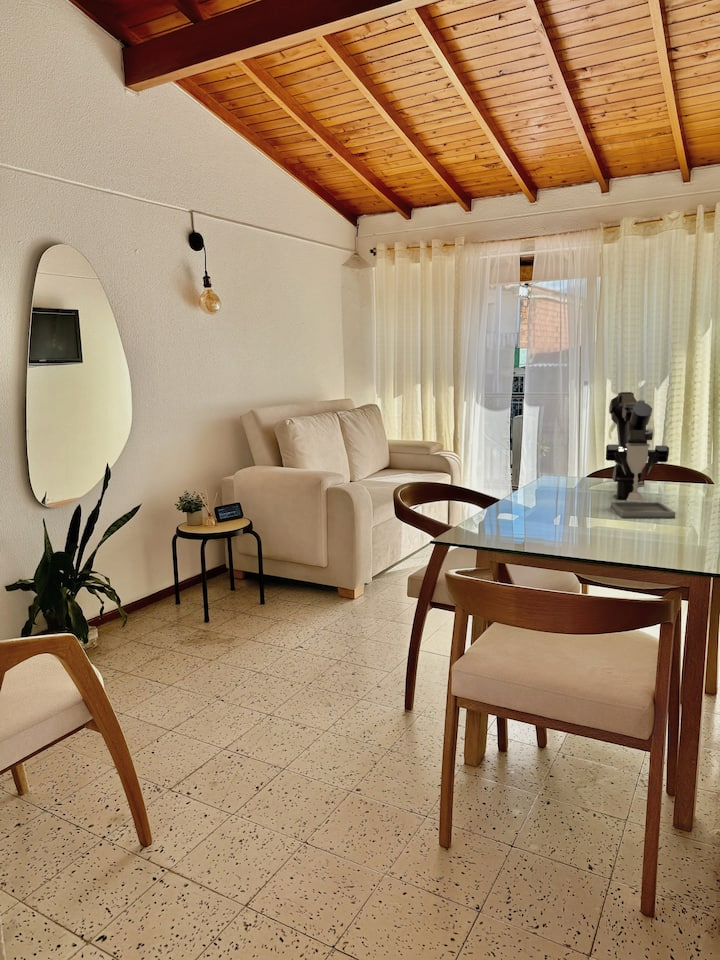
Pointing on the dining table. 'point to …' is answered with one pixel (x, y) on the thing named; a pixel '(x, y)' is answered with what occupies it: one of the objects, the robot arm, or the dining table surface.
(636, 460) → the chalice
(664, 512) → the tray
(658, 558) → the dining table surface
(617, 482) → the robot arm
